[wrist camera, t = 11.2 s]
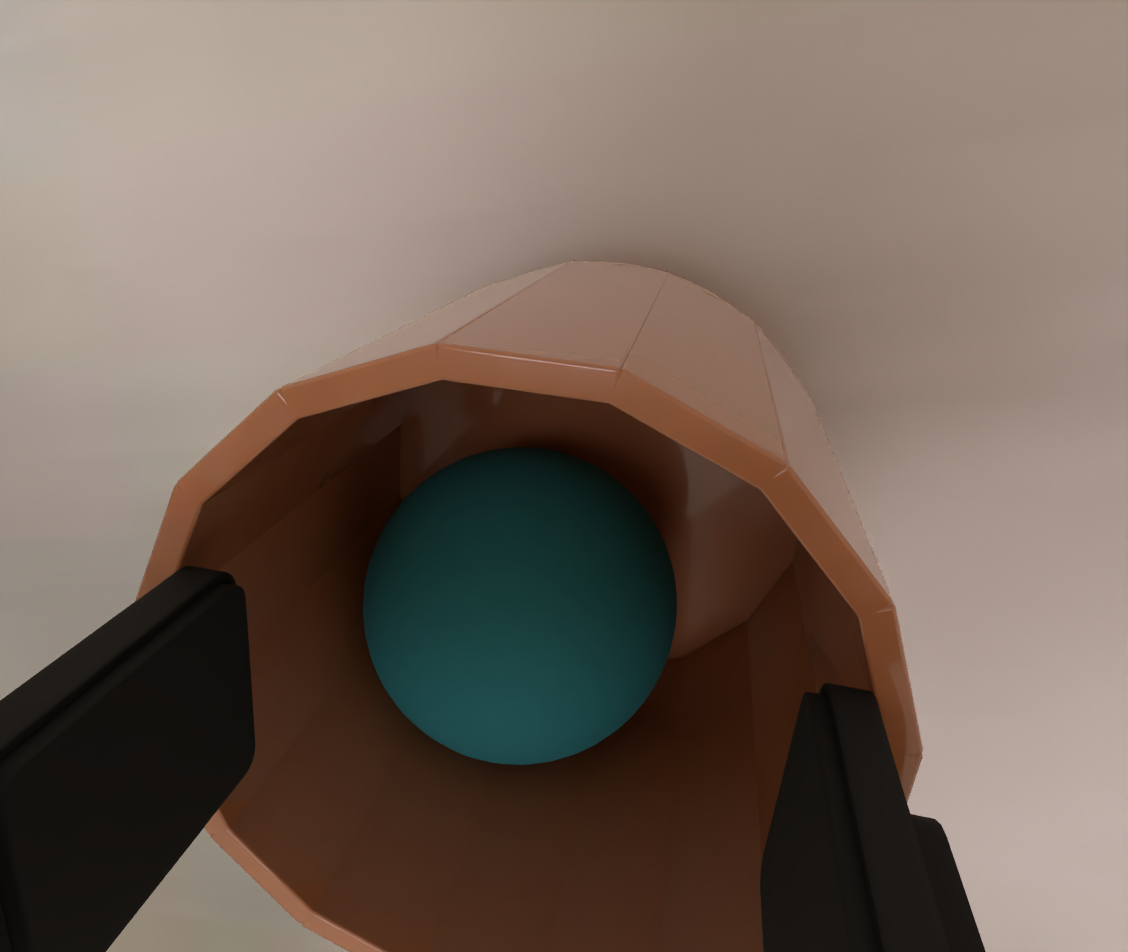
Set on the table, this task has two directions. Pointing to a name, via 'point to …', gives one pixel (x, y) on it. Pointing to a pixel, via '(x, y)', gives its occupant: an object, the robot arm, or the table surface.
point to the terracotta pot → (662, 723)
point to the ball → (519, 605)
